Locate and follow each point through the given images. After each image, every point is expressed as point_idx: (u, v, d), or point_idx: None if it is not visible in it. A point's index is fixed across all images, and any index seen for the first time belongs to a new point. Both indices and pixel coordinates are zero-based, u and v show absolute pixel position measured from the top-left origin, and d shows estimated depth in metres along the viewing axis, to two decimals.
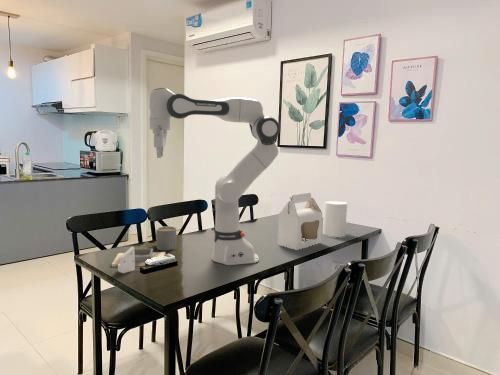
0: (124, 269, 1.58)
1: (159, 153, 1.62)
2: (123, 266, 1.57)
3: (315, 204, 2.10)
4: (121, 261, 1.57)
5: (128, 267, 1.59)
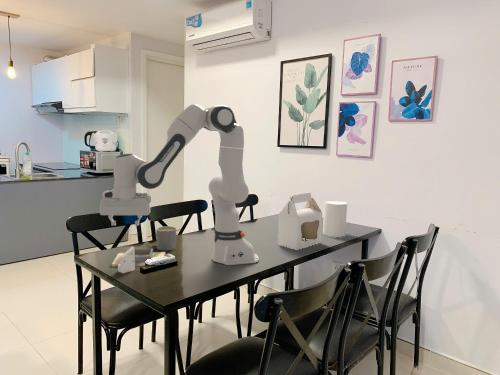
0: (124, 269, 1.58)
1: (139, 220, 1.59)
2: (123, 266, 1.57)
3: (315, 204, 2.10)
4: (121, 261, 1.57)
5: (128, 267, 1.59)
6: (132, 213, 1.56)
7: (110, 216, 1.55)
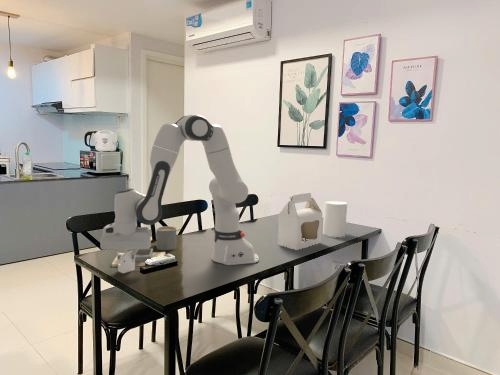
0: (124, 269, 1.58)
1: (135, 254, 1.60)
2: (123, 266, 1.57)
3: (315, 204, 2.10)
4: (121, 261, 1.57)
5: (128, 267, 1.59)
6: (133, 247, 1.58)
7: (116, 250, 1.58)
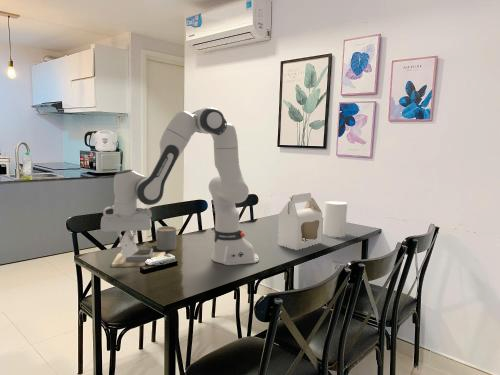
0: (129, 253, 1.57)
1: (134, 235, 1.59)
2: (126, 250, 1.56)
3: (315, 204, 2.10)
4: (122, 246, 1.56)
5: (131, 249, 1.58)
6: (133, 229, 1.57)
7: (118, 232, 1.57)
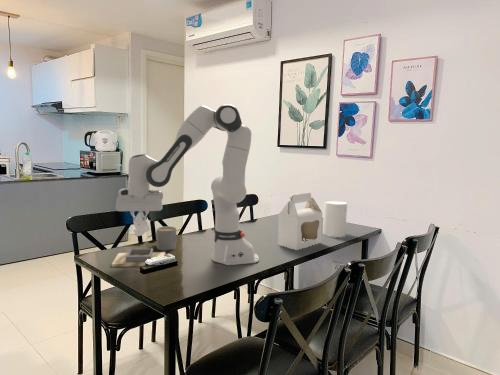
0: (141, 231, 1.69)
1: None
2: (139, 229, 1.68)
3: (315, 204, 2.10)
4: (136, 225, 1.68)
5: (144, 228, 1.70)
6: (146, 209, 1.69)
7: (132, 212, 1.69)
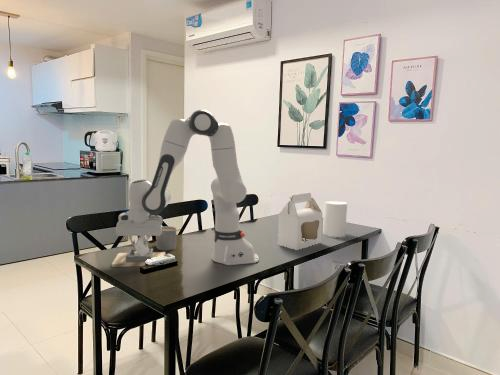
0: (141, 254, 1.70)
1: (147, 240, 1.73)
2: (140, 252, 1.70)
3: (315, 204, 2.10)
4: (136, 248, 1.70)
5: (144, 252, 1.72)
6: (146, 234, 1.71)
7: (130, 236, 1.71)
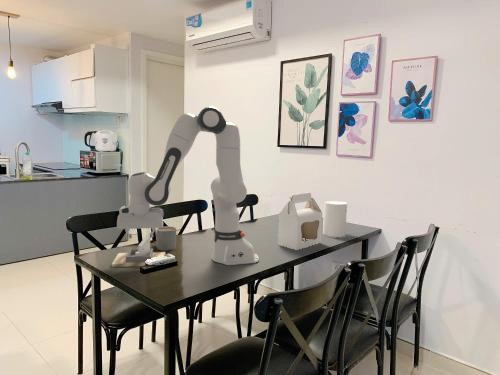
0: None
1: None
2: (142, 253, 1.70)
3: (315, 204, 2.10)
4: (140, 249, 1.70)
5: (145, 254, 1.72)
6: (147, 226, 1.70)
7: (127, 230, 1.70)
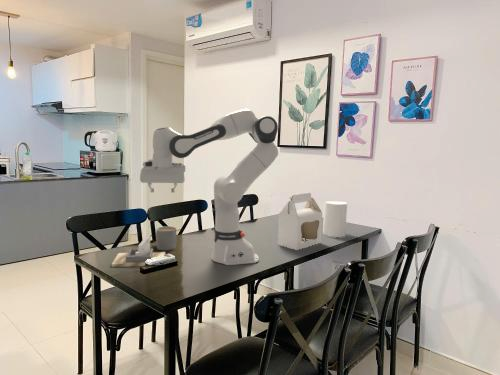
0: None
1: (174, 188, 1.77)
2: (142, 253, 1.70)
3: (315, 204, 2.10)
4: (140, 249, 1.70)
5: (145, 254, 1.72)
6: (169, 181, 1.74)
7: (149, 183, 1.74)
